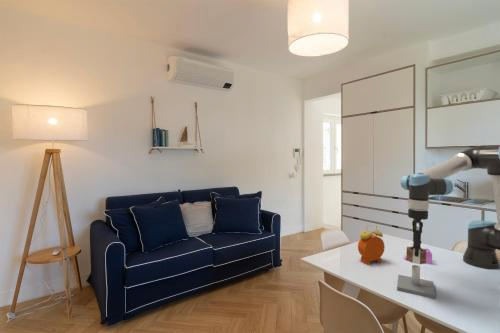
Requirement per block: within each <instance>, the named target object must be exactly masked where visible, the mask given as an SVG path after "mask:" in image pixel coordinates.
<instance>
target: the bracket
mask: <svg viewBox="0 0 500 333" xmlns="http://www.w3.org/2000/svg"><path fill="white" fill-rule="evenodd" d="M423 249H425V250H426V264H425V265H427V264H428V265H433V253H432V252H431V250H430V249H429V248H428V247H424V248H423ZM403 260H405V261H407V260H406V255H403ZM407 262H408V261H407Z"/></svg>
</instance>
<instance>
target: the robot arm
mask: <svg viewBox="0 0 500 333" xmlns="http://www.w3.org/2000/svg"><path fill="white" fill-rule="evenodd" d="M472 169H484V170H486V173H487V175H488V176H490V177H491V178H492V187H493V195H494V196H493V197H494V203H495V212H496V221H497V222H496V221H492V220H491V221H490V220H471V221H469V223H468V227H467V247H466V249H465V251H464V253H463V255H462V261H463V262H465V263H466V264H469V265H471V266H474V267H476V268H477V267H478V268H482V269H488V270H491V269H492V270H496V269H499V268H500V261H499V258H498V254H497V252H496V251H497V250H498V251H500V144H498V145H497V144H495V145H494V144H493V145H479V146H478V145H477V146H473V147H470V148H468V149H465V150H463V151H460V152H457V153H456V154H454V156H453V157H452V158H450V159H447V160H445V161H442V162H440V163H438V164H435V165H433V166H432V167H429V168H426V169H425V170H423V171H420V172H418V173H413V174H410V175H408V174H407V175H403V176H402V178H401V179H400V186H401V188H402V189H403V190H406V191H408V200H407V201H406V203H408V209H407V217H408V218H410V219H413V220H412V222H411V226H412V232H413V238H412V246H411V247H412V248H413V263H412V264H415V265H416V264H417V265H421V264H420V249H421V248H422V247H421V244H422V233H423V227H424V222H423V221H424V220H428V219H429V211H428V210H429V203H430V196H447V195H450V194H452V192H453V190H454V184H453V181H451V179H449V177H451V176H453V175H455V174H457V173H459V172H462V171H463V172H465V171H469V170H472ZM422 220H423V221H422Z"/></svg>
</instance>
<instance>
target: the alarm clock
mask: <svg viewBox="0 0 500 333" xmlns="http://www.w3.org/2000/svg"><path fill="white" fill-rule="evenodd" d="M371 226H372V227H373V226H375V229H374V230H372V231H371V232H370V231H368V230H363V231H362V232H361V233H360V235H359V236H360V239H359V241H358V243H357V250H358V252H359V254H360V256H361V257H360V262H362V263H364V264H366V265H369V264H371V263H372V261H373V262H374V261H375V262H377V263H382V262H383V261H382V259H381V257H382V256H383V254H384V252H385V248H386V247H385V242H384V240H383V239H382V238H383V235H384V234H383V233H382V232H381V231H380V230H378V229H377V225H375V224H374V225H371ZM368 227H369V225H367V226H366V228H368Z"/></svg>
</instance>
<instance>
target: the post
mask: <svg viewBox="0 0 500 333" xmlns="http://www.w3.org/2000/svg"><path fill="white" fill-rule="evenodd" d="M396 290H397V291H399V292H404V293H408V294H413V295H416V296H417V295H418V296H421V297H427V298H430V299H434V300H436V296H437V294H436V290H435V285H434V281H433V280H429V279H428V280H427V279H422V278H421V267H420V265H418V264H417V265H416V264H415V265H414V264H412V266H411V276H408V275H403V274H398V276H397V285H396Z"/></svg>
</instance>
